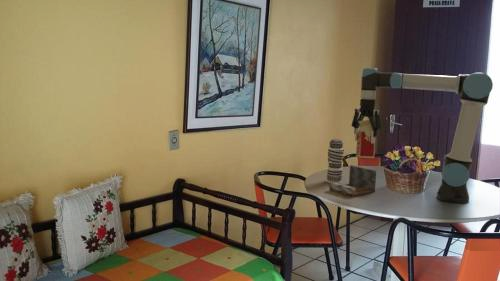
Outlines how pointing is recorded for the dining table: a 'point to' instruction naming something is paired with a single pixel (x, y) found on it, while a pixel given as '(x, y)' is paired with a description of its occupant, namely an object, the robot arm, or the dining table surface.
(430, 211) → the dining table surface
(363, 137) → the milk carton
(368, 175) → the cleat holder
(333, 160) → the decorative candle
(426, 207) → the dining table surface
